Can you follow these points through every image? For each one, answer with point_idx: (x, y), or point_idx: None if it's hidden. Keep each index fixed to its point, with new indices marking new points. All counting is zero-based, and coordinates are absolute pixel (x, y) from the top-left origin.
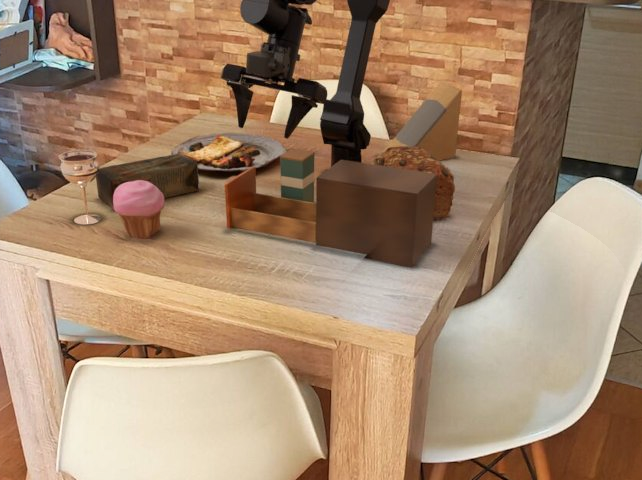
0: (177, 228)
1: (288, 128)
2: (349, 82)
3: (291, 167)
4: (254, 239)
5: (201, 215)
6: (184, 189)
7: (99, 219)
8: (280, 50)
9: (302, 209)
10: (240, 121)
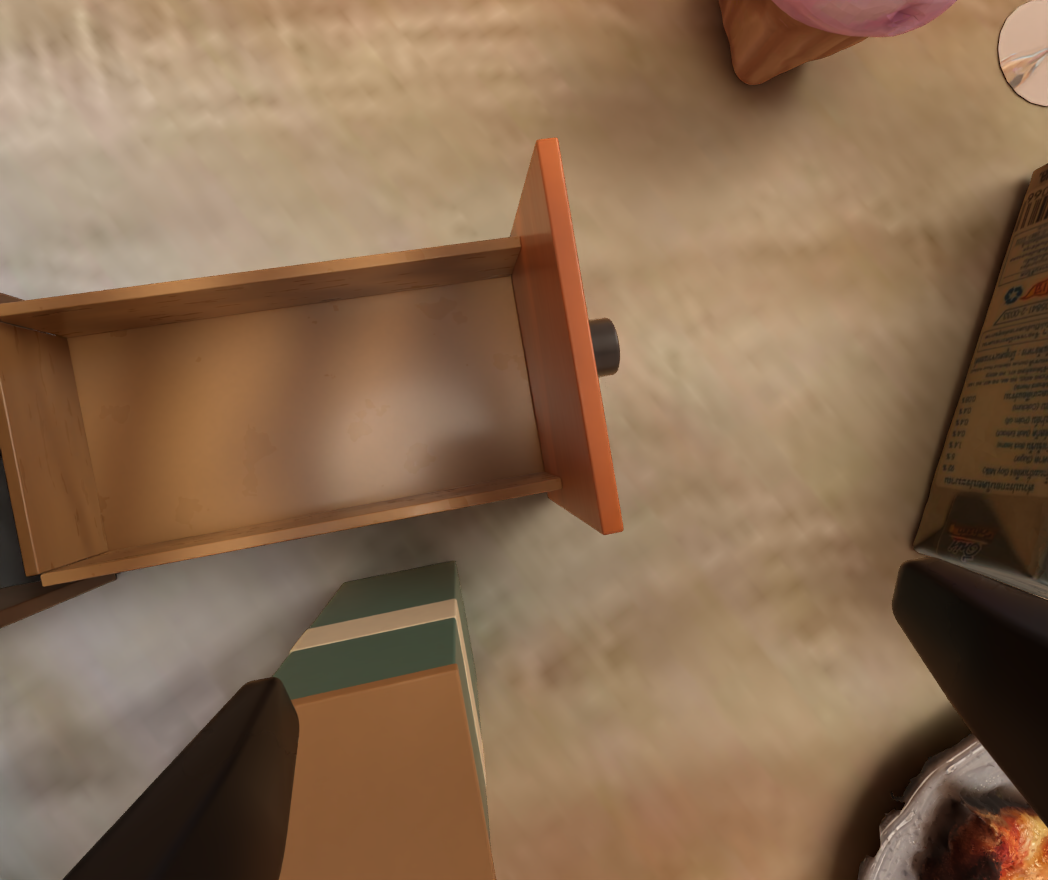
0: (711, 170)
1: (165, 781)
2: None
3: (363, 662)
4: (369, 251)
5: (723, 337)
6: (947, 480)
7: (1009, 71)
8: None
9: (272, 526)
10: (968, 589)
